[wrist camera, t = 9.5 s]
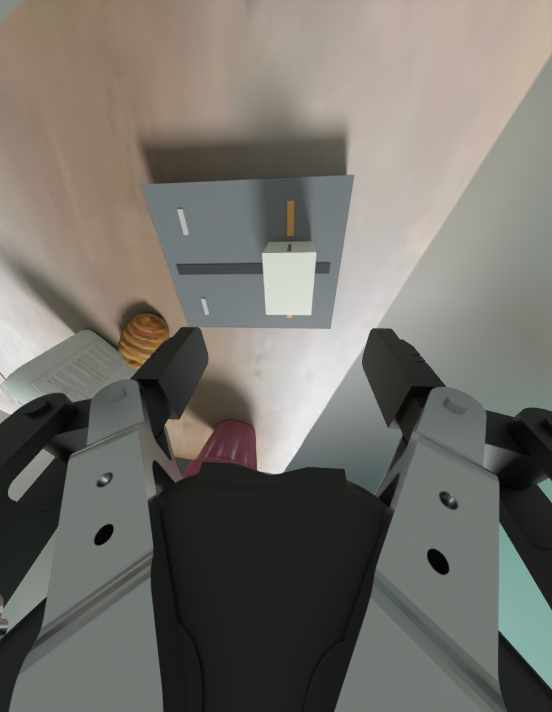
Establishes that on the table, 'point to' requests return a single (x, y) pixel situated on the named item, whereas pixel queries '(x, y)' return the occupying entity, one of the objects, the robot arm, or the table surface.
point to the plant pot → (228, 447)
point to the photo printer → (69, 370)
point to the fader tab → (289, 277)
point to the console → (248, 244)
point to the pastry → (142, 339)
